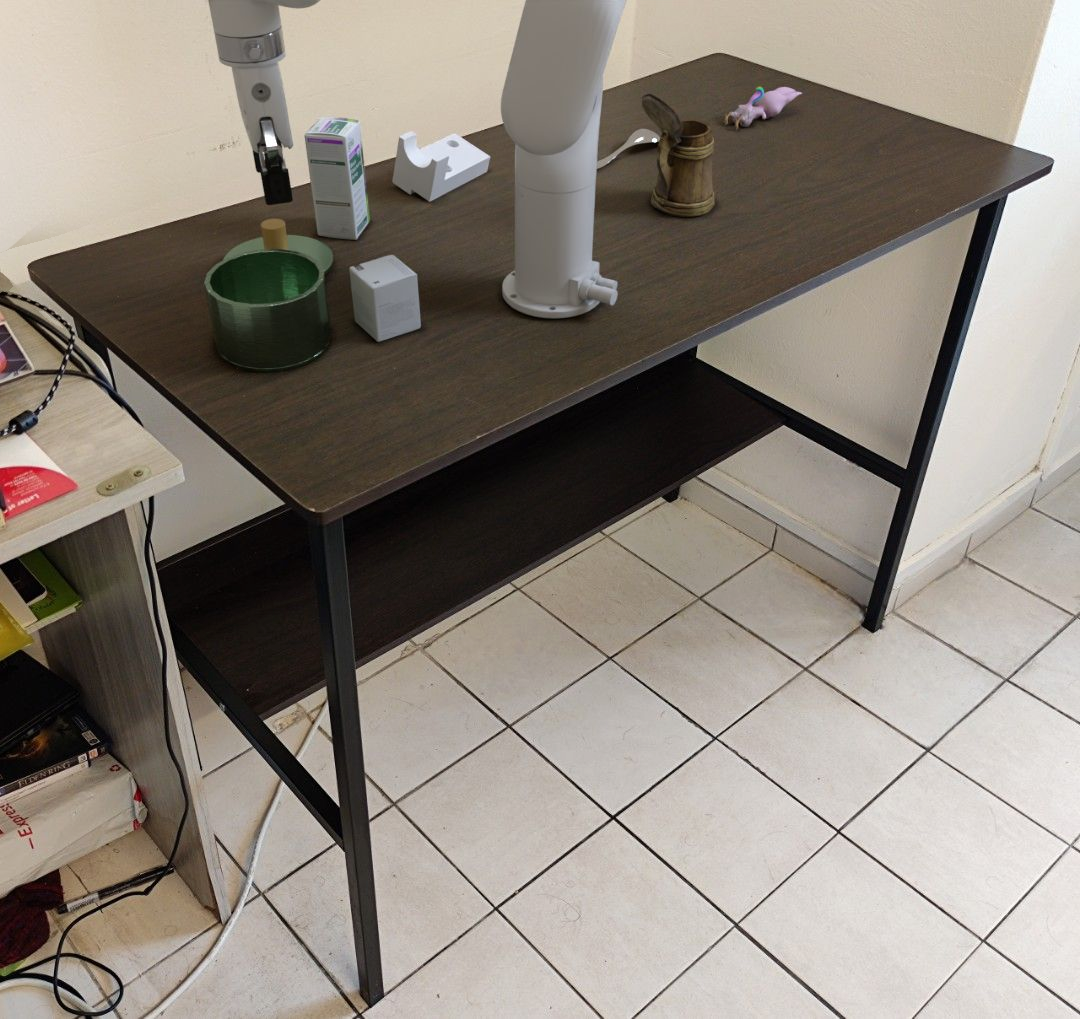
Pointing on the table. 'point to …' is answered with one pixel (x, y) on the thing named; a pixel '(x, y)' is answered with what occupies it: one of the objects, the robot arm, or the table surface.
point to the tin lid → (286, 243)
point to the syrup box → (337, 177)
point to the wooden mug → (681, 162)
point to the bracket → (436, 165)
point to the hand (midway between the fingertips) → (274, 186)
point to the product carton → (385, 297)
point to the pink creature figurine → (762, 105)
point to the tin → (269, 309)
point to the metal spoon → (632, 144)
